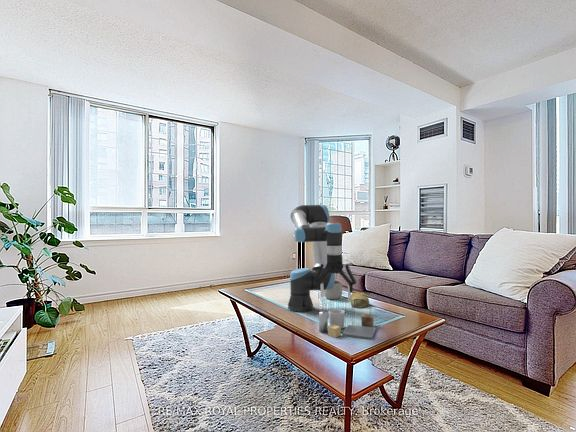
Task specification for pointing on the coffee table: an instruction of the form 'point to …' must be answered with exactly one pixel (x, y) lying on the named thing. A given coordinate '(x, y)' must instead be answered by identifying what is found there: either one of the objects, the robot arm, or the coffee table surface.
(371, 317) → the walnut block
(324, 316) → the grey peg
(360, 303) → the pastry
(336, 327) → the ochre block
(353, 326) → the coaster
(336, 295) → the planter
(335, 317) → the cup
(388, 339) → the coffee table surface
